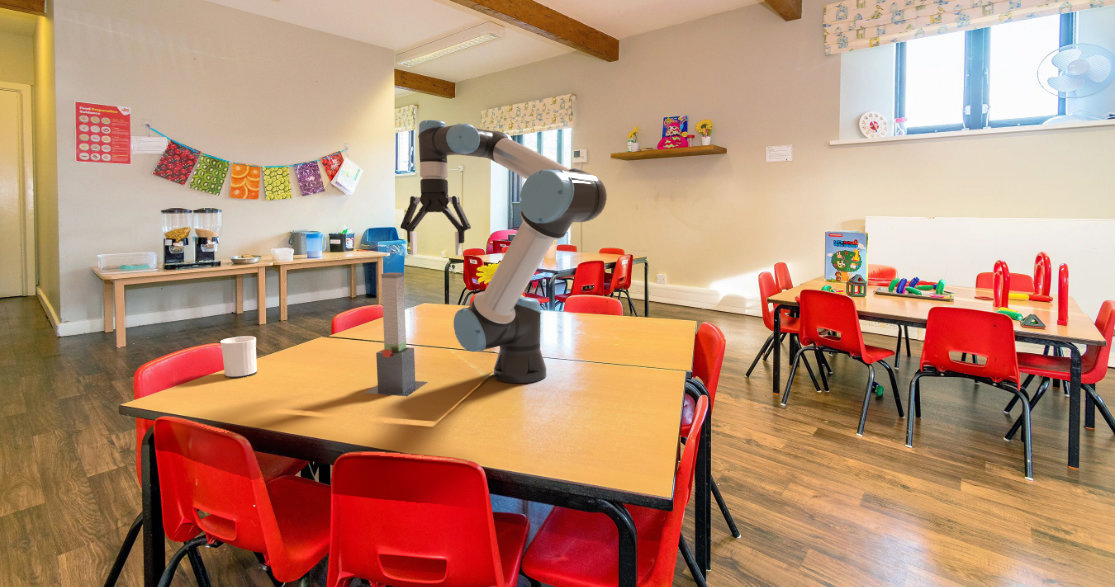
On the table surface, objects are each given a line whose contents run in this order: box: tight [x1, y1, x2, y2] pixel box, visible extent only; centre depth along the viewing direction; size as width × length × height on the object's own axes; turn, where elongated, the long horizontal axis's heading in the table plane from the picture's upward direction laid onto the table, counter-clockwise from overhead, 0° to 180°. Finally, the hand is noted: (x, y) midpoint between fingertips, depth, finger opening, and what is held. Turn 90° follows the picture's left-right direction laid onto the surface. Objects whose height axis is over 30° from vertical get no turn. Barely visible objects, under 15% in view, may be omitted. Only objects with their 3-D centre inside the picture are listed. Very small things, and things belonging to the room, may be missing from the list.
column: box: [380, 272, 407, 353], centre depth 140 cm, size 4×4×23 cm
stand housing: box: [364, 346, 429, 397], centre depth 142 cm, size 12×12×12 cm
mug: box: [219, 335, 258, 379], centre depth 157 cm, size 11×9×10 cm
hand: (436, 254), depth 155 cm, fingers open, 13 cm apart
